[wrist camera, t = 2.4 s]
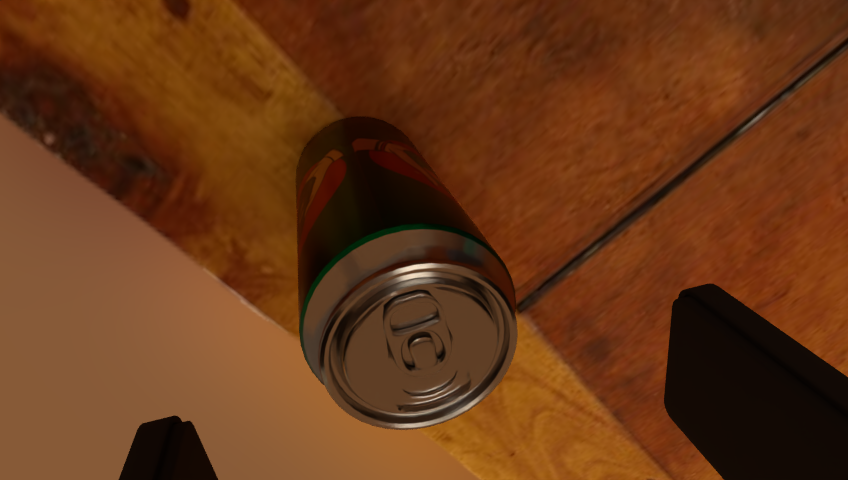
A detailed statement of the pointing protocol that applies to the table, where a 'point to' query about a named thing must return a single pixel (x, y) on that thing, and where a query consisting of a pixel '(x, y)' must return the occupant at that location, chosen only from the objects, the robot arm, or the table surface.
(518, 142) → the table surface
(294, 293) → the table surface
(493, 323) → the soda can
